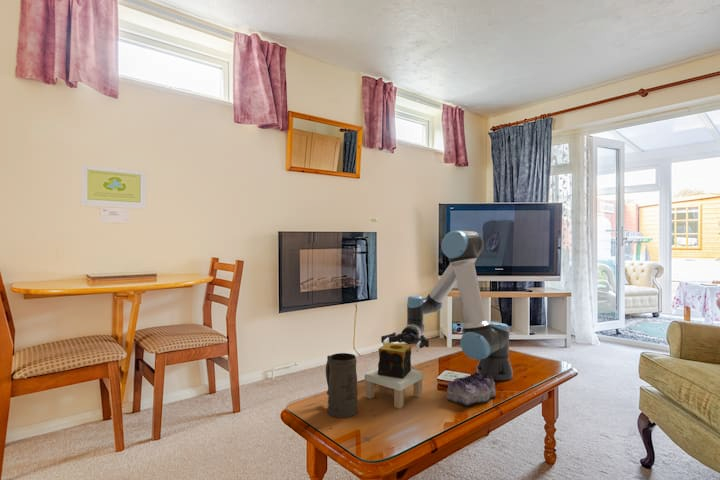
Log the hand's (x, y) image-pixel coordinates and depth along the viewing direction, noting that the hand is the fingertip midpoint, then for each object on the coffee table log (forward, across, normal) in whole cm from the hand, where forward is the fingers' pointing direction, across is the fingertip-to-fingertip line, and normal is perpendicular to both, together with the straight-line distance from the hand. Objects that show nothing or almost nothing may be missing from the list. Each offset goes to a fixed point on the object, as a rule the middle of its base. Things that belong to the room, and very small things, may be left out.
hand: (400, 346), depth 159 cm
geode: (+1, -28, -17) cm, 33 cm away
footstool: (+9, 0, -16) cm, 19 cm away
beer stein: (+27, +16, -17) cm, 36 cm away
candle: (+10, 0, -8) cm, 12 cm away
